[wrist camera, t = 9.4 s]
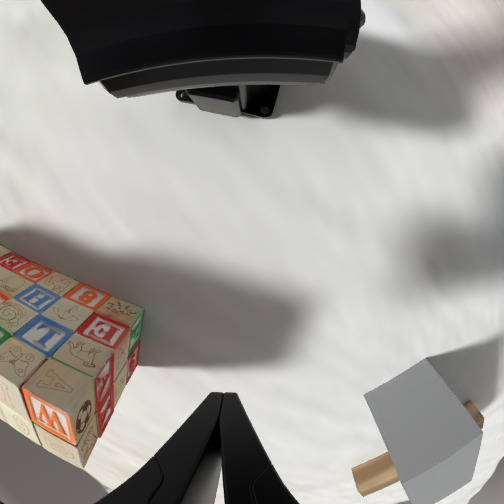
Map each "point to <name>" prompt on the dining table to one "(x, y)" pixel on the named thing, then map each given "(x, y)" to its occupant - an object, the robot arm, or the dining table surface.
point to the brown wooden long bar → (391, 464)
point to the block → (426, 433)
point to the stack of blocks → (62, 356)
